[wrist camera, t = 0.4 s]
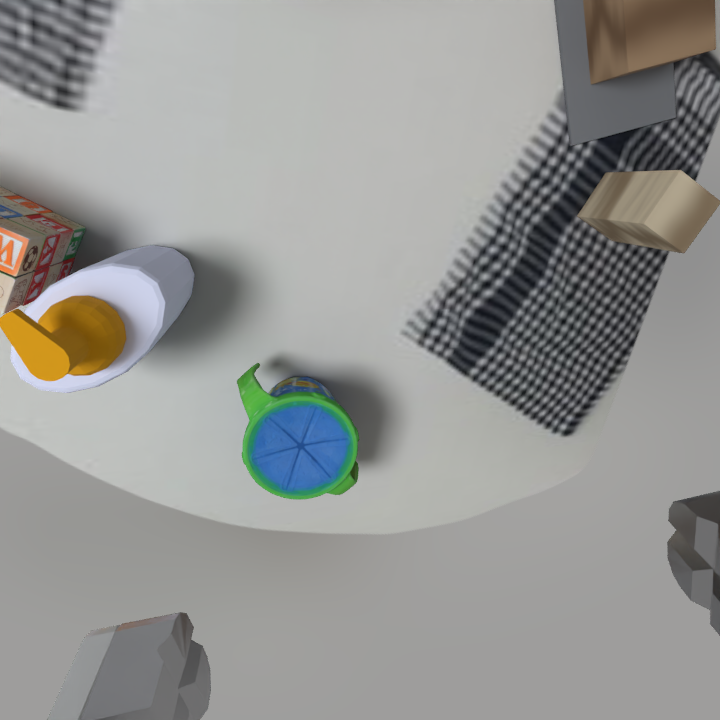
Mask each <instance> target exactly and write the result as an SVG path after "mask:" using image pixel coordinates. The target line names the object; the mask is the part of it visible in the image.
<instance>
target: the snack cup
mask: <svg viewBox="0 0 720 720" xmlns="http://www.w3.org/2000/svg"><path fill="white" fill-rule="evenodd" d="M259 366H260V364H259V363H257V364H255V365H254V366H253V367H251V368H250V369H249V370H248V371H247V372H246V373H244V374H243V375H242V376H241V377H240V378H239V379H238V380H237V384H238V387H239V391H240V396H241V399H242V401H243V404H244V407H245V410H246V412H247V414H248V417H249V424H248V426H247V428H246V431H245V435H244V439H243V452H242V458H243V462H244V464H245V465H246V467H247V469H248V471H249V473H250V475H251V476H252V478H253V479H254V480H255V482H256V483H258V484H259V485H260V486H261V487H262V488H264V489H265V490H267V491H268V492H270V493H272V494H274V495H277V496H280V497H283V498H288V499H309V498H314V497H317V496H320V495H323V494H325V493H329V494H334V495H340V494H343V493H344V492H346V491H347V490H348V489H350V488H351V487H352V486H353V485H354V484H355V483H356V482H357V479H358V463H357V462H356V461H355V460H356V457H357V451H358V441H359V435H358V431H357V428H356V427H355V426H354V424H353V422H352V420H351V418H350V417H349V415H348V413H347V412H346V411H345V410H344V408H342V407H341V406H340V405H339V404H338V403H337V402H336V400H335V399H334V397H333V396H332V394H331V393H330V392H329V390H328V389H327V388H326V387H325V386H323V385H322V384H320V383H319V382H317V381H316V380H314V379H311V378H309V377H294V378H289V379H286V380H284V381H282V382H280V383H278V384H277V385H276V386H275V387H273V388H272V389H271V391H270V392H269V393H267V392H265V391H264V390H263V389H262V387H261V386H260V384H259V382H258V381H257V379H256V377H255V375H254V373H255V371H256V370H257V368H258V367H259Z"/></svg>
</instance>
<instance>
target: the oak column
mask: <svg viewBox="0 0 720 720" xmlns="http://www.w3.org/2000/svg"><path fill="white" fill-rule="evenodd" d="M719 204H720V201H719V200H718V199H717V198H716V197H714V196H713V195H712V194H710V193H709V192H708V191H707V190H705V189H704V188H703V187H702V186H700V185H699V184H697V182H695V181H694V180H693V179H691V178H690V177H689V176H688V175H686V174H685V173H684V172H683V171H681V170H667V171H638V172H609V173H605V175H604V176H603V178H602V179H601V181H600V182H599V184H598V185H597V187H596V188H595V190H594V191H593V193H592V194H591V196H590V197H589V199H588V200H587V202H586V203H585V205H584V206H583V208H582V209H581V211H580V212H579V214H578V216H577V217H579V218H580V219H582V220H583V221H584V222H586V223H587V224H589V225H590V226H592V227H593V228H594V229H596V230H597V231H599V232H600V233H602V234H603V235H604V236H606V237H607V238H609V239H610V240H612V241H616V242H622V243H628V244H633V245H639V246H645V247H650V248H656V249H662V250H668V251H674V252H679V253H685V252H686V250H687V249H688V248H689V246H690V245H691V243H692V242H693V241H694V239H695V238H696V236H697V235H698V234H699V232H700V231H701V229H702V228H703V227H704V225H705V224H706V223H707V221H708V220H709V218H710V217H711V216H712V214H713V213H714V211H715V210H716V209H717V207H718V206H719Z"/></svg>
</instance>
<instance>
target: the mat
mask: <svg viewBox="0 0 720 720" xmlns="http://www.w3.org/2000/svg"><path fill="white" fill-rule="evenodd" d="M554 2H555V12H556V21H557V30H558V39H559V49H560V58H561V67H562V77H563V86H564V95H565V104H566V114H567V123H568V132H569V142H570V146H573V145H576V144H580V143H584V142H587V141H591V140H595V139H598V138H602V137H606V136H610V135H613V134H617V133H621V132H624V131H628V130H632V129H635V128H639V127H643V126H646V125H650V124H654V123H658V122H661V121H665V120H669V119H672V118H676V106H675V83H674V62H673V63H670V64H667V65H663V66H659V67H655V68H651V69H648V70H644V71H640V72H636V73H633V74H629V75H625V76H621V77H618V78H614V79H610V80H606V81H603V82H599V83H595V84H591V82H590V71H589V60H588V49H587V38H586V27H585V16H584V5H583V0H554Z"/></svg>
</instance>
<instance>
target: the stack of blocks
mask: <svg viewBox="0 0 720 720" xmlns="http://www.w3.org/2000/svg"><path fill="white" fill-rule="evenodd" d="M84 231H85V227H84V226H81V225H79V224H77V223H75V222H73V221H71V220H69V219H66V218H64V217H62V216H60V215H58V214H56V213H54V212H53V211H51V210H49V209H47V208H45V207H43V206H40V205H38V204H36V203H34V202H32V201H30V200H27V199H25V198H23V197H21V196H18V195H17V194H15V193H13V192H11V191H8V190H6V189H4V188H2V187H0V313H2V314H4V313H7V312H9V311H11V310H13V309H15V308H17V307H19V306H20V305H23V306H24V305H26V304H29V303H31V302H33V301H34V300H35V299H37V298H38V297H39V296H40V295H41V294H42V293H43V292H44V291H45V290H46V289H47V288H48V287H49V286H50V285H52V284H54V283H56V282H58V281H60V280H62V279H64V278H65V277H67V276H68V275H69V273H70V270H71V267H72V264H73V262H74V259H75V255H76V252H77V249H78V247H79V244H80V242H81V239H82V236H83V234H84Z"/></svg>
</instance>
